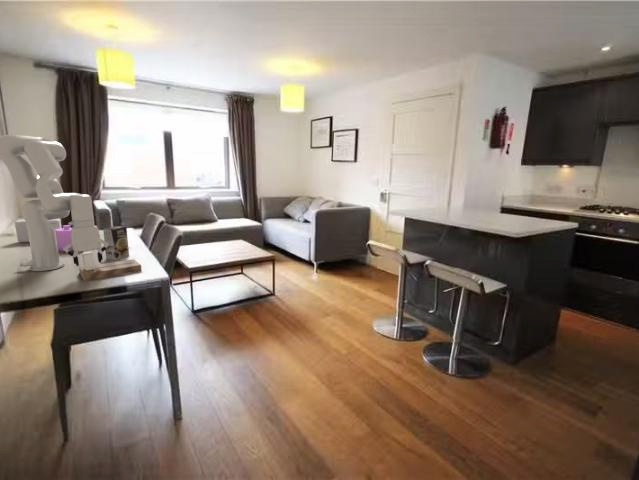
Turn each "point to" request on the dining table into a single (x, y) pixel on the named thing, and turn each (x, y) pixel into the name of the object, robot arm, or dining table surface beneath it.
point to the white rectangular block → (88, 261)
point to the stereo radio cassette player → (23, 232)
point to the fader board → (110, 269)
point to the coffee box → (116, 242)
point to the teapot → (63, 237)
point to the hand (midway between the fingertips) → (88, 263)
